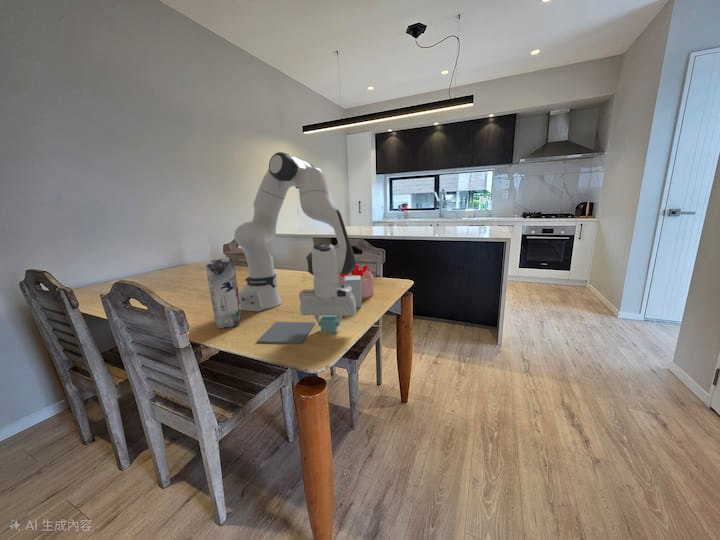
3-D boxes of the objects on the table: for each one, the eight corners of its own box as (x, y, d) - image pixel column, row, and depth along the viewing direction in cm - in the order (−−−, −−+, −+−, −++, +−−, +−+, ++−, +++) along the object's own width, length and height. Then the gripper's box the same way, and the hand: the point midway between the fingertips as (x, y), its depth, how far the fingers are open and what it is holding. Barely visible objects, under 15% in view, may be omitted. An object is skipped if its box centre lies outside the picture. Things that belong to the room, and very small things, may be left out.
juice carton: (215, 330, 109) (202, 261, 102) (220, 320, 119) (209, 256, 112) (240, 327, 111) (229, 259, 104) (243, 317, 121) (233, 254, 114)
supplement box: (361, 307, 126) (360, 279, 123) (345, 307, 126) (343, 280, 123) (362, 301, 133) (360, 275, 130) (346, 302, 133) (344, 275, 130)
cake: (376, 288, 152) (375, 262, 149) (370, 301, 133) (369, 271, 129) (340, 287, 156) (338, 262, 152) (330, 300, 136) (327, 271, 133)
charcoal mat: (256, 342, 98) (256, 341, 98) (276, 323, 113) (275, 321, 113) (301, 343, 96) (301, 342, 95) (315, 323, 111) (315, 322, 111)
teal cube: (321, 332, 103) (320, 319, 102) (324, 326, 108) (323, 314, 107) (335, 332, 102) (334, 319, 101) (337, 326, 107) (337, 314, 106)
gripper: (295, 292, 100) (299, 328, 103) (353, 292, 97) (355, 329, 100) (301, 287, 106) (304, 321, 109) (356, 286, 103) (357, 322, 106)
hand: (329, 325), depth 105 cm, fingers closed on teal cube, 5 cm apart
